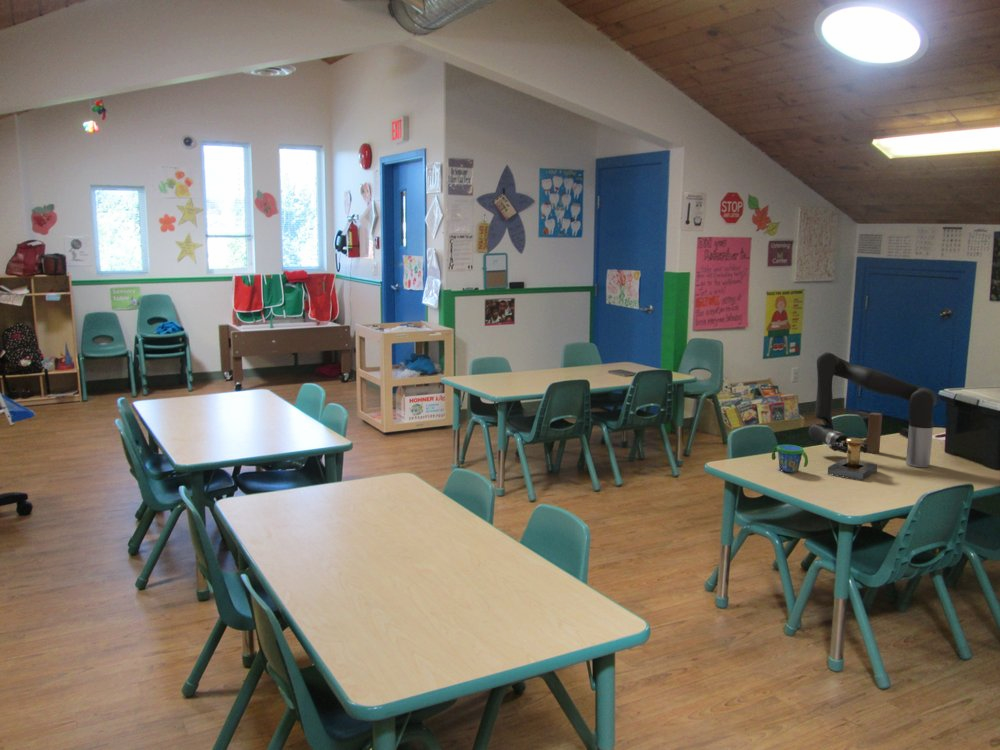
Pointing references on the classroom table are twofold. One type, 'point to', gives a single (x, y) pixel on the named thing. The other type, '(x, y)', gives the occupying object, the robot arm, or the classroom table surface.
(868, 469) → the plate
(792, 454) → the snack cup
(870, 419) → the wooden block
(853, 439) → the brass flanged peg
